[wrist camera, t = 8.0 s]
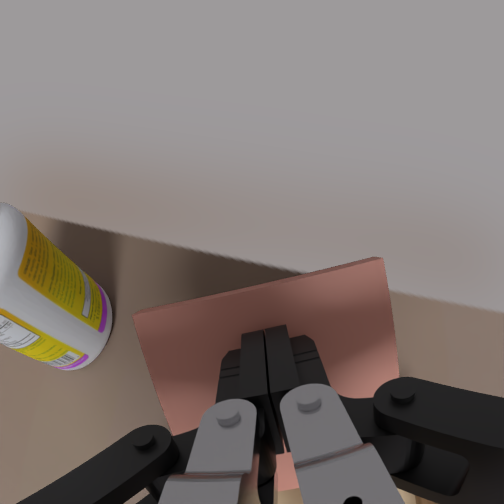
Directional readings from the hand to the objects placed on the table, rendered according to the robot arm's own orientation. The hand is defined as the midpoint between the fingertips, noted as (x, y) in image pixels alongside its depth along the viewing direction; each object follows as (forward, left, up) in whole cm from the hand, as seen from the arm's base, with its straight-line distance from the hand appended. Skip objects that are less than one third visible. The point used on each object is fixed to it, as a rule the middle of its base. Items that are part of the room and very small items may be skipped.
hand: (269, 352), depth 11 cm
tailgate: (0, -5, -4) cm, 7 cm away
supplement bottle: (-13, +5, -7) cm, 16 cm away
